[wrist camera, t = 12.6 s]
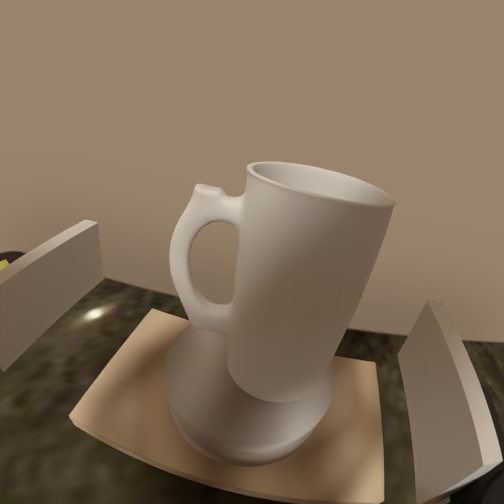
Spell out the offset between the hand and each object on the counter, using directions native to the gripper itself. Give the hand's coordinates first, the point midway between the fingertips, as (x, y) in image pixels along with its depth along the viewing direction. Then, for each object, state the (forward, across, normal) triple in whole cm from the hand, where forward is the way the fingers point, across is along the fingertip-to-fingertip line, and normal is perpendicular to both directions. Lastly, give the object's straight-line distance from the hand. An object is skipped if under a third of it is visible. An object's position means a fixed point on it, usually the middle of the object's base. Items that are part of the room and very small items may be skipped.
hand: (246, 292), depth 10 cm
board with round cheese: (+4, +1, -14) cm, 14 cm away
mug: (+4, 0, -8) cm, 9 cm away
